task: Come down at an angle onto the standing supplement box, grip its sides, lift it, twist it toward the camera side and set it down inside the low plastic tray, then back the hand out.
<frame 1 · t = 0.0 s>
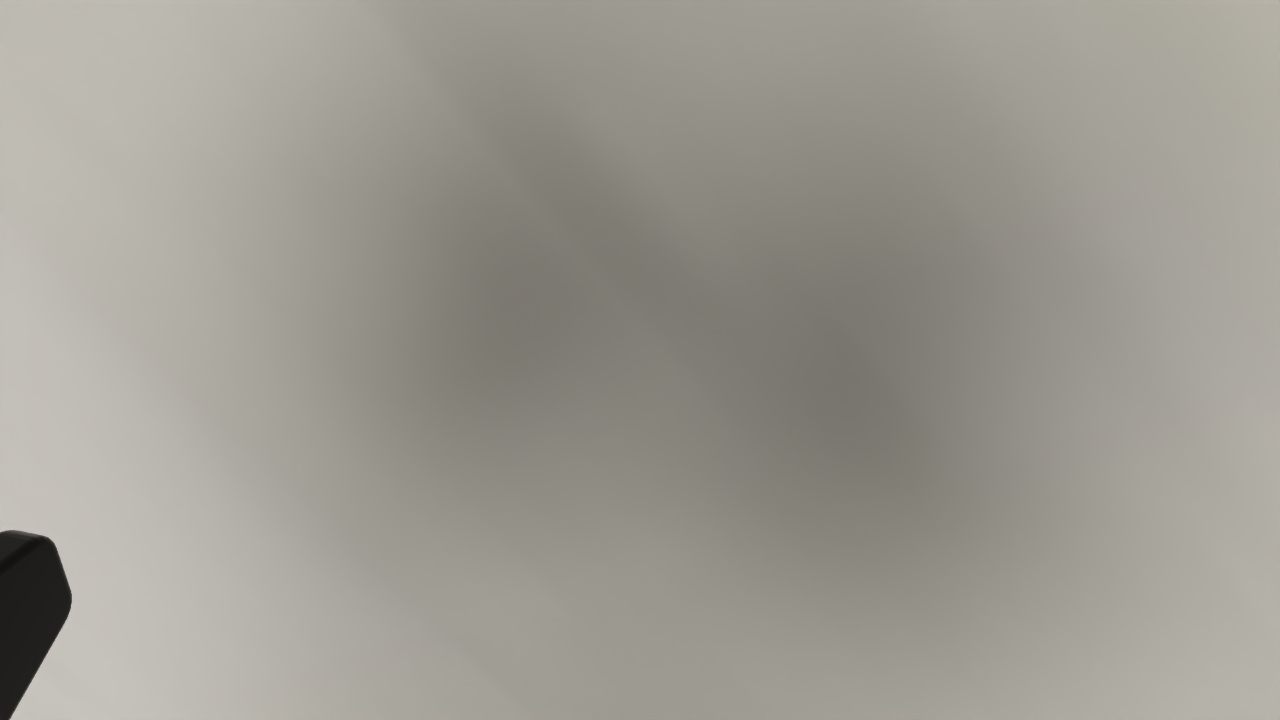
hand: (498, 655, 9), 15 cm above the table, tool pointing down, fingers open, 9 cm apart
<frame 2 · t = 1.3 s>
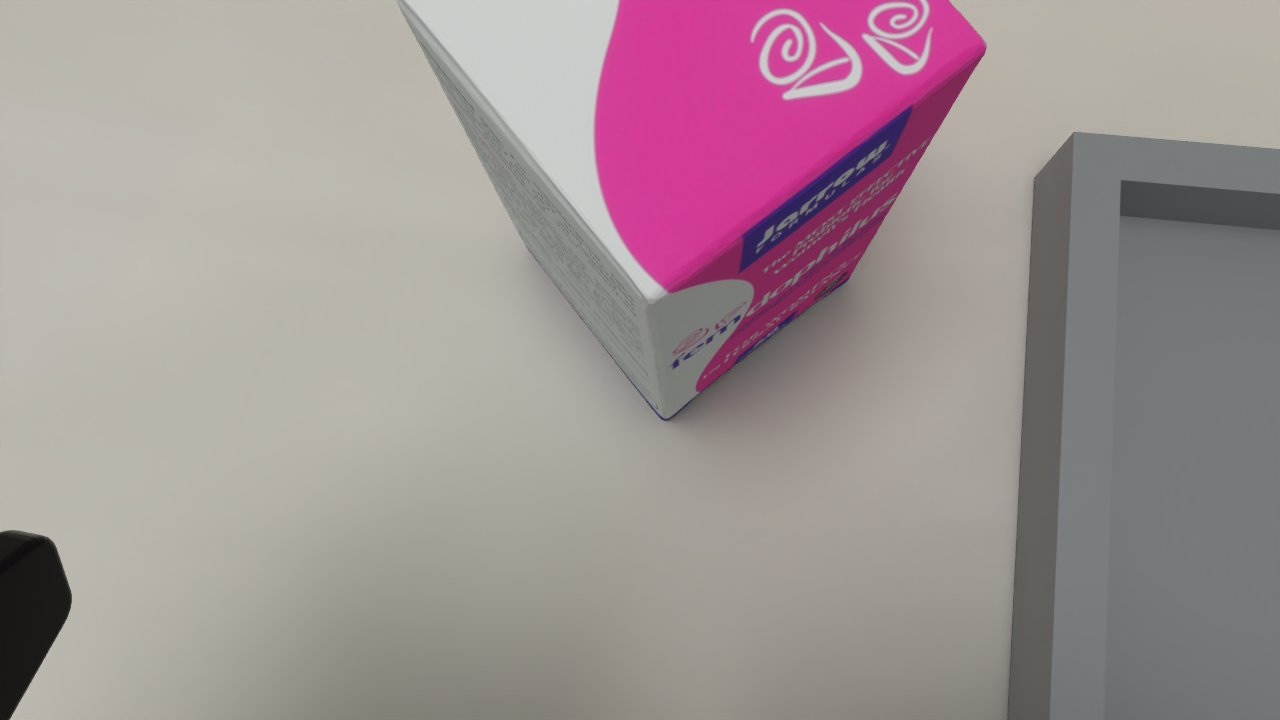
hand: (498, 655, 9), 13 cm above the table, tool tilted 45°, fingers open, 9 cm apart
supplement box: (689, 267, 24), on the table
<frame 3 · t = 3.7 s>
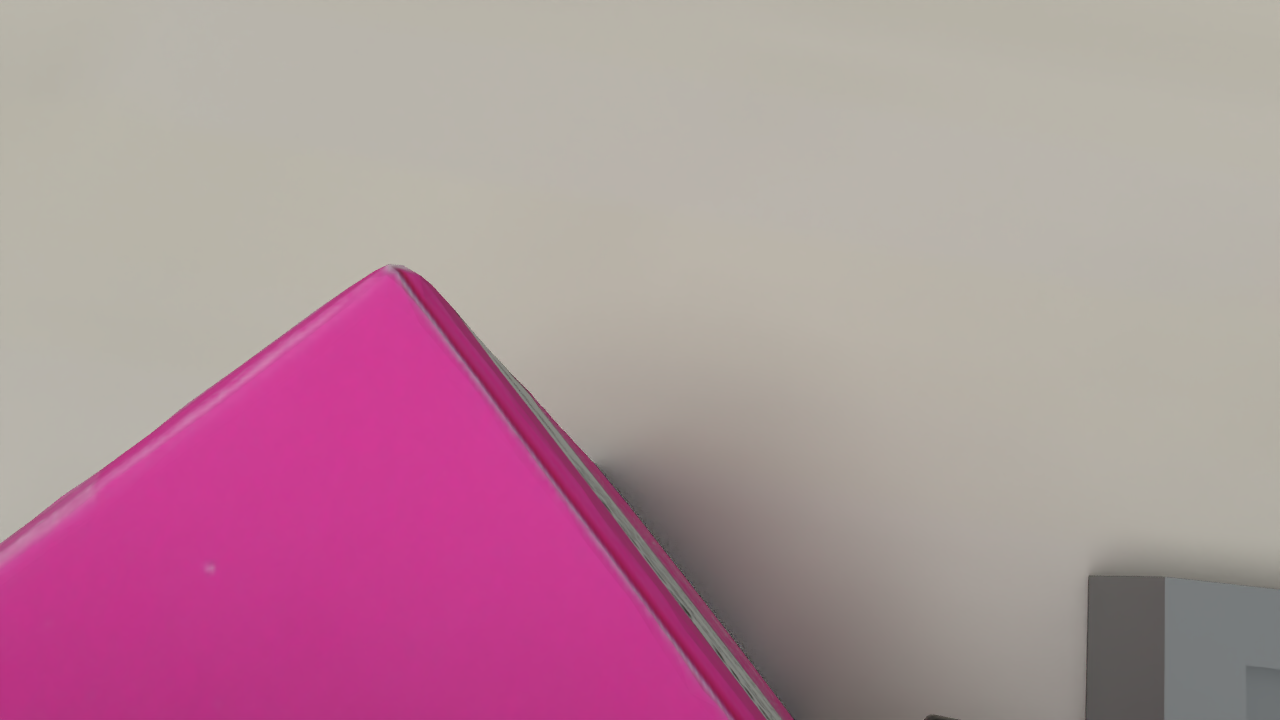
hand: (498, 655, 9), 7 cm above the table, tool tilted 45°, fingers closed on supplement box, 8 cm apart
supplement box: (562, 708, 16), on the table, touching gripper
when the fingers open (8 cm above the table, at t = 7.7 s): supplement box stays where it is, resting on tray.
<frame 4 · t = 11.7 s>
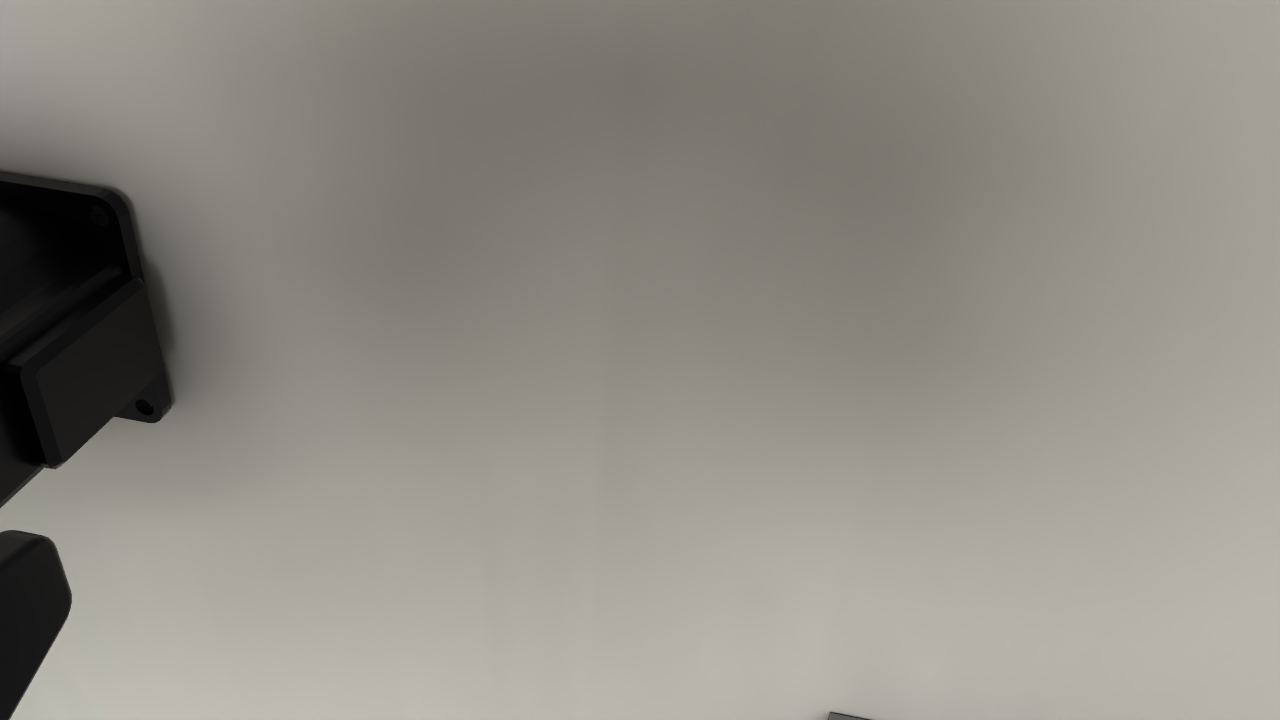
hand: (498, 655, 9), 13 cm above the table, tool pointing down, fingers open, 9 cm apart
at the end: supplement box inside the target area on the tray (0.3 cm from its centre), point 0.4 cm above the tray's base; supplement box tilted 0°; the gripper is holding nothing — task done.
